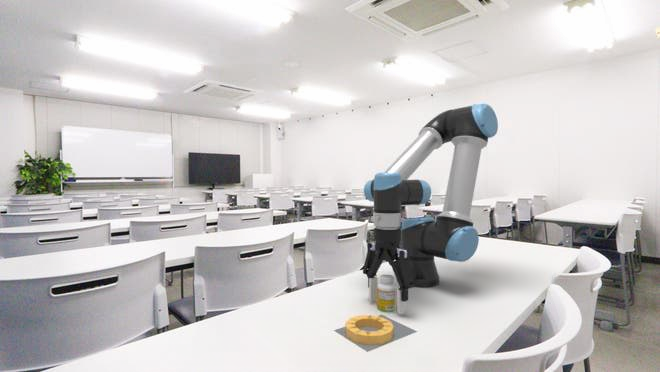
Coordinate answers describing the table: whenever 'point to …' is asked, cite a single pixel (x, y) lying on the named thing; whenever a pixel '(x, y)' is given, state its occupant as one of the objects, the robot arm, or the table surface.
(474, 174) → the robot arm
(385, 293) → the supplement bottle
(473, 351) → the table surface
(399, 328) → the slate mat
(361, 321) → the golden tan faceted ring
